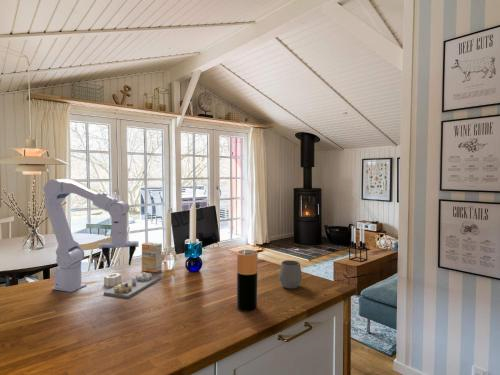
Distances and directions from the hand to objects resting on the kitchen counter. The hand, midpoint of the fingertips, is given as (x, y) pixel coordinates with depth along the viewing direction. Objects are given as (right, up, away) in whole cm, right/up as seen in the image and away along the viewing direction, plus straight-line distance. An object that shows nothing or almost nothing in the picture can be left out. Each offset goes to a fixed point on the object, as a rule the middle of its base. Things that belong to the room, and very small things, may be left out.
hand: (119, 265), depth 129 cm
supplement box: (+6, -9, +24) cm, 26 cm away
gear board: (+5, -9, +3) cm, 11 cm away
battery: (+51, -11, -16) cm, 55 cm away
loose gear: (-5, -9, +6) cm, 12 cm away
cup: (+69, -10, +5) cm, 70 cm away
